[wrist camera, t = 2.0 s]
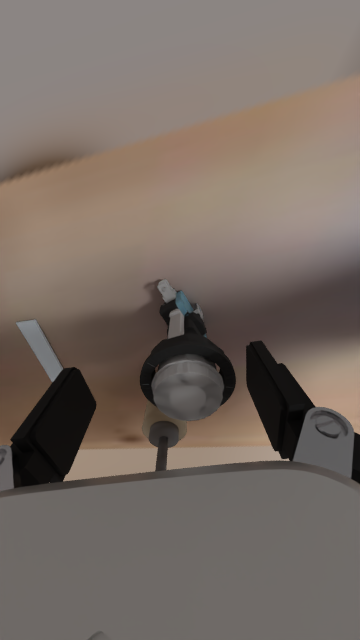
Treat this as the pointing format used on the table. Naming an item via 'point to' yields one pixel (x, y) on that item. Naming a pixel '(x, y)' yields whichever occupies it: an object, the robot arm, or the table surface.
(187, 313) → the push button
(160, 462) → the awl
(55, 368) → the flat metal tool blade
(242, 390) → the table surface
